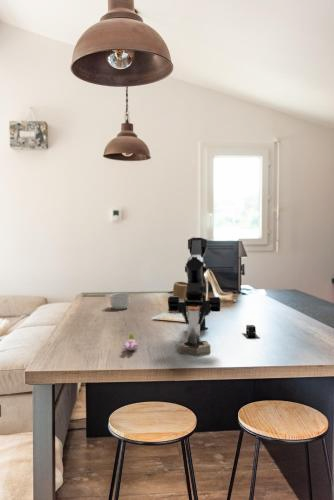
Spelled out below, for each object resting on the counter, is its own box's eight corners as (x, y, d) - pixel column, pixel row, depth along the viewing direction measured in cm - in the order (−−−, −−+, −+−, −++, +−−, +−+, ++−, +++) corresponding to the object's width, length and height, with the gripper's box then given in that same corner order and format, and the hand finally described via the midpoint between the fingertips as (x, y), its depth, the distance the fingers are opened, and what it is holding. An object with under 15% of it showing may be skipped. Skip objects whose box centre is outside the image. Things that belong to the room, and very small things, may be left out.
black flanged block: (239, 333, 179) (238, 322, 179) (256, 333, 179) (256, 322, 179) (245, 341, 167) (245, 329, 167) (264, 340, 167) (264, 329, 167)
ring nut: (170, 350, 152) (170, 343, 152) (197, 344, 159) (197, 338, 159) (189, 357, 143) (189, 349, 143) (216, 351, 150) (216, 344, 150)
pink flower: (123, 348, 160) (120, 352, 145) (124, 332, 161) (120, 334, 146) (140, 348, 160) (138, 352, 145) (140, 332, 161) (138, 334, 146)
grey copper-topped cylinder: (185, 340, 153) (185, 305, 152) (197, 339, 154) (197, 304, 154) (190, 343, 148) (189, 307, 148) (202, 342, 150) (202, 306, 149)
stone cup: (189, 311, 229) (189, 283, 229) (167, 310, 231) (167, 282, 231) (192, 306, 244) (192, 280, 244) (171, 306, 246) (171, 280, 246)
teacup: (132, 309, 236) (132, 295, 235) (112, 310, 232) (112, 296, 231) (125, 305, 249) (124, 291, 248) (106, 306, 245) (106, 292, 244)
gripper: (168, 274, 155) (164, 310, 145) (220, 274, 153) (220, 310, 143) (170, 292, 163) (167, 328, 153) (220, 293, 161) (220, 329, 151)
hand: (193, 323), depth 149 cm, fingers closed on grey copper-topped cylinder, 4 cm apart
